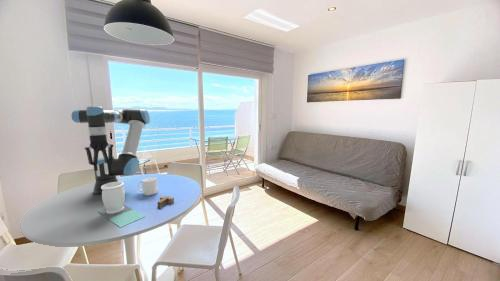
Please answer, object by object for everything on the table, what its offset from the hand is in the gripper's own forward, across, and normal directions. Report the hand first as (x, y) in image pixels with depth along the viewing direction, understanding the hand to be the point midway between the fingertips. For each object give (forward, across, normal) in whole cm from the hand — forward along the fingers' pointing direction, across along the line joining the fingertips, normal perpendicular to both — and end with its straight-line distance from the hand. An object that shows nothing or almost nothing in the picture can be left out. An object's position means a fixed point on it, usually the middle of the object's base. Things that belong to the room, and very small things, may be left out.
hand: (102, 174), depth 116 cm
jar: (+19, 0, -12) cm, 22 cm away
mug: (+19, +24, -3) cm, 31 cm away
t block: (+19, +20, -27) cm, 38 cm away
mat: (+19, 0, -19) cm, 27 cm away
